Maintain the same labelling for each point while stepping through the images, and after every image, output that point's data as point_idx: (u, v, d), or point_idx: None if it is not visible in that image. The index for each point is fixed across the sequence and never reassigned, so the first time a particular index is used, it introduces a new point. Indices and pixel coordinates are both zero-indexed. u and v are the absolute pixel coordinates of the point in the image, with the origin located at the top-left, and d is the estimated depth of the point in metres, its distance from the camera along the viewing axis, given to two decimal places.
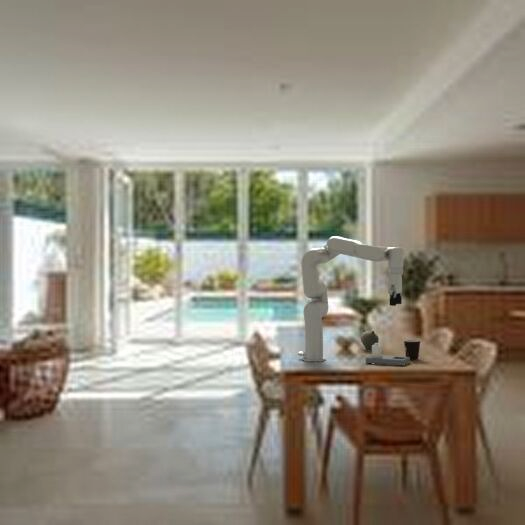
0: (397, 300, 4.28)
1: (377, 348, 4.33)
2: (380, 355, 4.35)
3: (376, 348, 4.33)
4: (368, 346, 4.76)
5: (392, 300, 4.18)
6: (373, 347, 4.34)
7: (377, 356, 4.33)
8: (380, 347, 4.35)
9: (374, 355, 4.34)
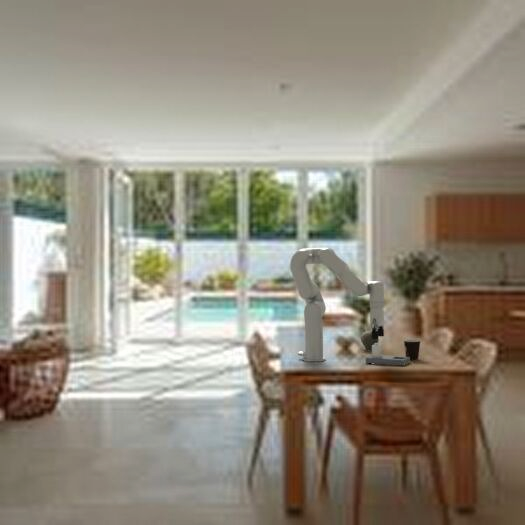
0: (379, 332, 4.39)
1: (377, 348, 4.33)
2: (380, 355, 4.35)
3: (376, 348, 4.33)
4: (368, 346, 4.76)
5: (374, 333, 4.30)
6: (373, 347, 4.34)
7: (377, 356, 4.33)
8: (380, 347, 4.35)
9: (374, 355, 4.34)
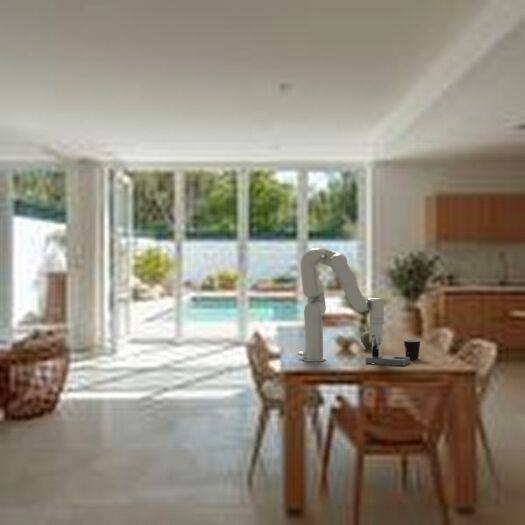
0: None
1: None
2: (380, 355, 4.35)
3: None
4: (368, 346, 4.76)
5: (374, 351, 4.32)
6: None
7: None
8: (380, 347, 4.35)
9: None
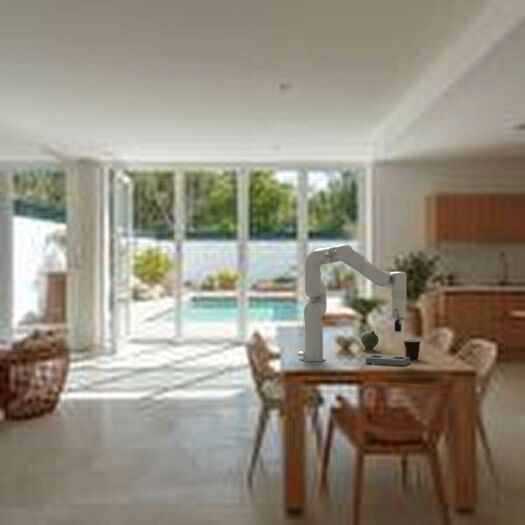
0: None
1: None
2: (403, 331, 4.29)
3: None
4: (368, 346, 4.76)
5: (397, 326, 4.27)
6: None
7: (400, 332, 4.28)
8: (402, 323, 4.29)
9: None
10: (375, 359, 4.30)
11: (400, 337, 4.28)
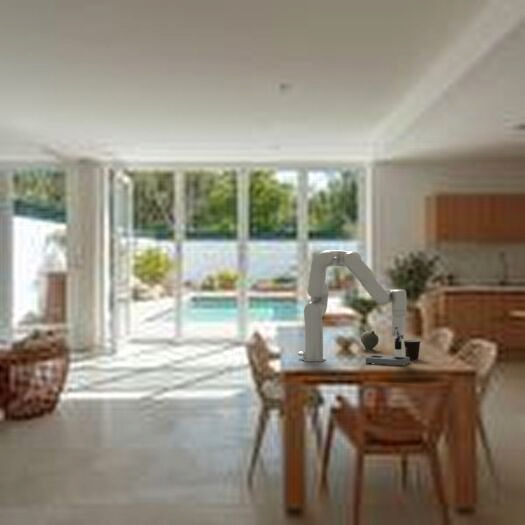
0: None
1: None
2: (403, 349, 4.29)
3: None
4: (368, 346, 4.76)
5: (397, 344, 4.27)
6: None
7: (400, 350, 4.28)
8: (402, 341, 4.29)
9: (397, 349, 4.29)
10: (375, 359, 4.30)
11: (400, 355, 4.28)
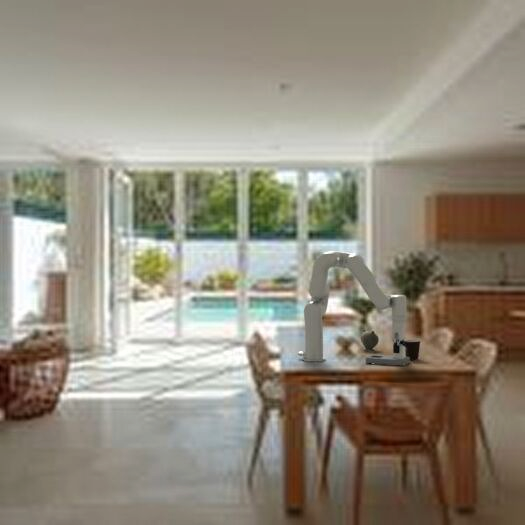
0: None
1: (401, 349, 4.28)
2: (404, 356, 4.29)
3: (400, 349, 4.28)
4: (368, 346, 4.76)
5: (396, 348, 4.25)
6: None
7: (401, 357, 4.28)
8: (404, 348, 4.29)
9: (397, 356, 4.29)
10: (375, 359, 4.30)
11: None
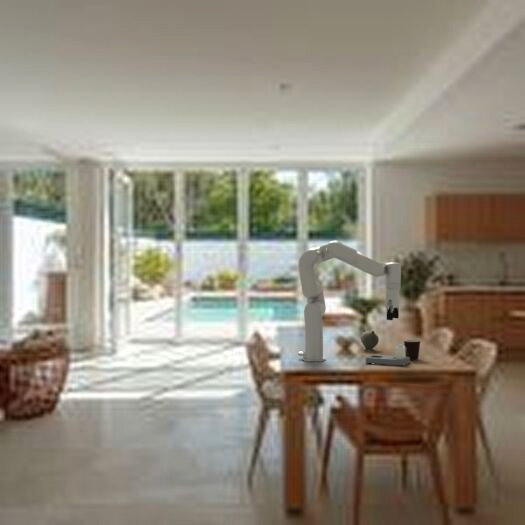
0: (394, 314, 4.37)
1: (401, 349, 4.28)
2: (404, 356, 4.29)
3: (400, 349, 4.28)
4: (368, 346, 4.76)
5: (389, 314, 4.27)
6: (397, 348, 4.29)
7: (401, 357, 4.28)
8: (404, 348, 4.29)
9: (397, 356, 4.29)
10: (375, 359, 4.30)
11: None
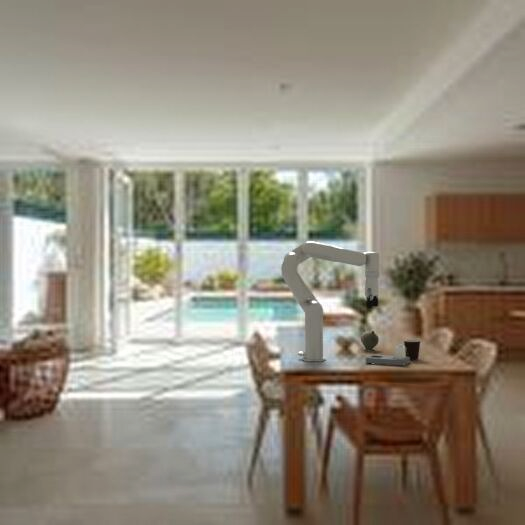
0: (374, 302, 4.48)
1: (401, 349, 4.28)
2: (404, 356, 4.29)
3: (400, 349, 4.28)
4: (368, 346, 4.76)
5: (369, 302, 4.39)
6: (397, 348, 4.29)
7: (401, 357, 4.28)
8: (404, 348, 4.29)
9: (397, 356, 4.29)
10: (375, 359, 4.30)
11: None
